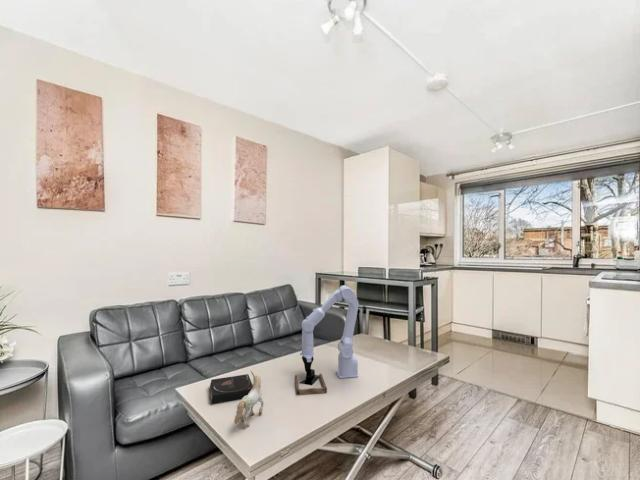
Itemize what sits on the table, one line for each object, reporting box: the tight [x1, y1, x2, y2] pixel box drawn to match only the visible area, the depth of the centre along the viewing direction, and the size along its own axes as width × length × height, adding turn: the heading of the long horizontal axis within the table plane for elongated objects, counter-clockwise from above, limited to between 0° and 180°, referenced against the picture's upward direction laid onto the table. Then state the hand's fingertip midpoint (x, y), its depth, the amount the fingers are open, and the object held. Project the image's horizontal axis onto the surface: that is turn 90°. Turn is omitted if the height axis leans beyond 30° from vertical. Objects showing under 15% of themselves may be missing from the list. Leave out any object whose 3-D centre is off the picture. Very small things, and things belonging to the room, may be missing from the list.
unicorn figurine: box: [233, 370, 265, 428], centre depth 111 cm, size 7×20×13 cm, turn 176°
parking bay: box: [294, 373, 328, 396], centre depth 137 cm, size 13×16×2 cm
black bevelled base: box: [298, 368, 320, 386], centre depth 144 cm, size 12×7×5 cm, turn 158°
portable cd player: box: [209, 373, 253, 405], centre depth 131 cm, size 16×17×4 cm
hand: (307, 371), depth 147 cm, fingers closed
